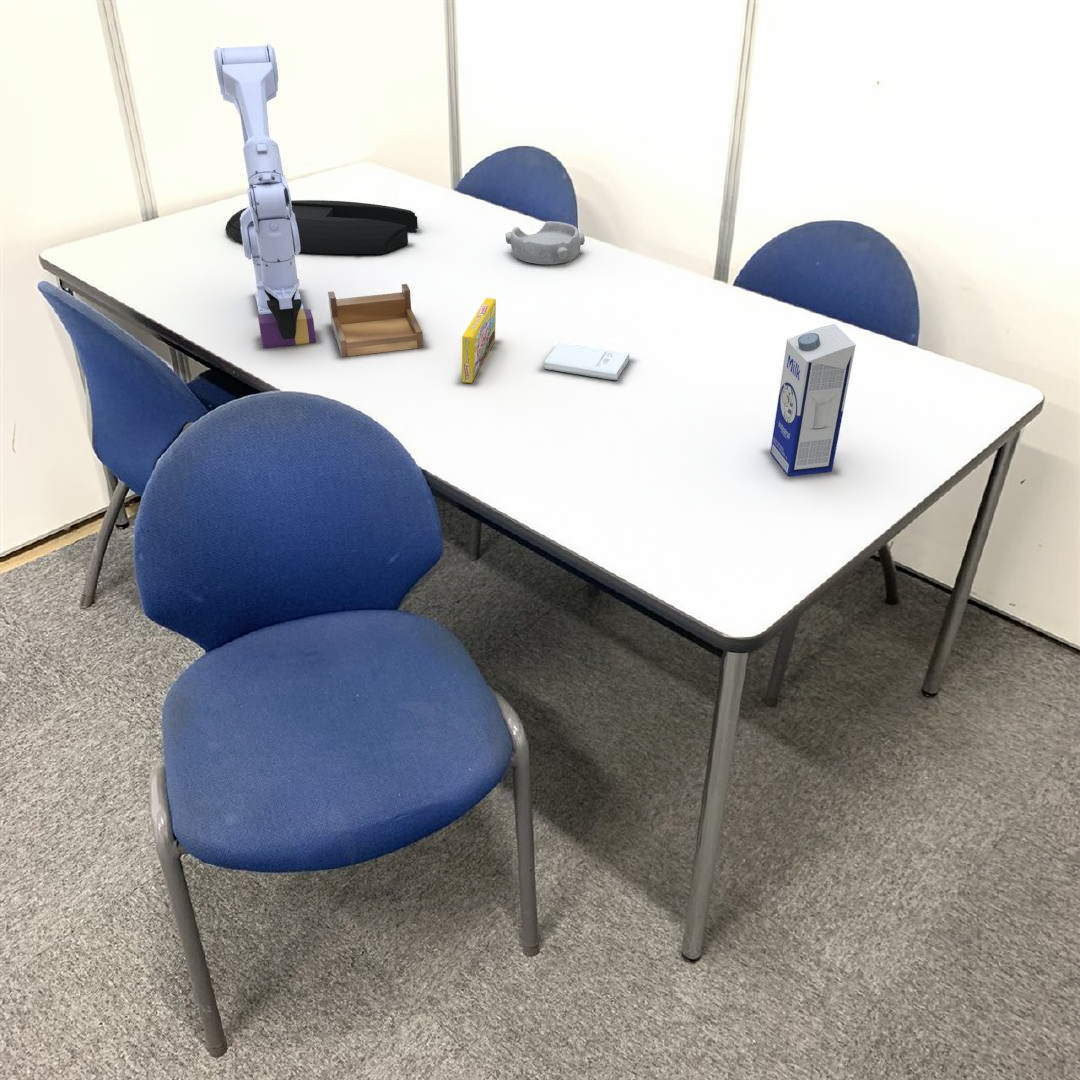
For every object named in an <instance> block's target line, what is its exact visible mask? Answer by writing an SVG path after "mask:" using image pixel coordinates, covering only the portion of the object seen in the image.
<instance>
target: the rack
mask: <svg viewBox="0 0 1080 1080" xmlns="http://www.w3.org/2000/svg"><path fill="white" fill-rule="evenodd" d="M327 296H328V305H329V313H330V323H331V329H332V331H333V335H334V337H335V340H336V343H337V346H338V349H339V352H340V356H341V357H342V358H345V357H353V356H363V355H370V354H371V355H372V354H379V353H389V352H396V351H405V350H414V349H422V348H424V339H423V338H424V337H423V336H424V335H423V329H422V327H421V325H420V324H419V322H418V320H417V318H416V316H415V313H414V312H413V310H412V300H411V298H412V297H411V289H410V288H409V286H408V283H402V284H401V292H391V293H383V294H373V295H372V294H371V295H363V296H354V297H352V296H351V297H345V298H344V297H343V298H337V297H336V294H335V291H334V290H333V291H328V292H327Z"/></svg>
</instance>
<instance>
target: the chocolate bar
mask: <svg viewBox="0 0 1080 1080" xmlns="http://www.w3.org/2000/svg"><path fill="white" fill-rule="evenodd" d="M257 320H258V327H259V332H260V333H259V334H260V340H261V345H262V349H268V348H270V349H271V348H277V347H278V348H279V347H287V346H296V345H304V344H306V345H307V344H312V343H316V342H317V341H316V340H317V339H316V330H315V322H314V317H313V314H312V311H311V309H310V308H308V309H303V310H299V313H298V316H297V325H296V336H295V338H293V339H283V338H282V336H281V333H280V330H279V327H278V324H277V321H276V319H275V317H274V315H273V313H270V314H257Z"/></svg>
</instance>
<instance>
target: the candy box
mask: <svg viewBox="0 0 1080 1080" xmlns="http://www.w3.org/2000/svg"><path fill="white" fill-rule="evenodd" d="M496 313H497V299H496V298H492V297H486V298H485V300H484V301H483V302H482V304H481V305H480V307H479V309H478V310H477V312H476V313H475V315H474V317H473V318H472V320H471V321H470V323H469V325H468V326H467V328H466V329H465V331H464V333H463V334H462V337H461V339H462V340H461V343H462V344H461V350H462V351H461V383H465V384H472V383H473V382H474V379H475V378H476V376H477V374H478V373H479V371H480V369H481V367H482V365H483V364H484V362H485V360H486V359H487V357H488V355H489V353H490V352H491V350H492V347H493V346H494V345H495V343H496V322H497V321H496V319H497V317H496V315H497V314H496Z"/></svg>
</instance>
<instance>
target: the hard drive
mask: <svg viewBox="0 0 1080 1080" xmlns="http://www.w3.org/2000/svg"><path fill="white" fill-rule="evenodd" d="M629 361H630V353H628V352H622V351H615V350H609V349H604V348H597V347H591V346H584V345H579V344H572V343H567V342H558V343H557V344H556V345H555V347H553V349H552V350H551V352H550V353H549V354H548V356H547V357H546V358H545V360H544V361H543V369H544V370H549V371H555V372H562V373H568V374H574V375H580V376H586V377H593V378H598V379H604V380H611V381H617V380H618V379H619V377H620V376H621V374H622V372H623V371H624V369H626V366H627V365H628V363H629Z"/></svg>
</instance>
